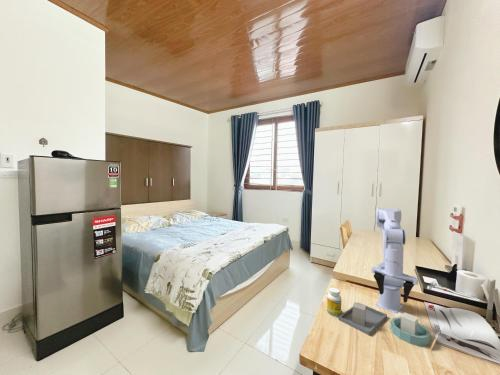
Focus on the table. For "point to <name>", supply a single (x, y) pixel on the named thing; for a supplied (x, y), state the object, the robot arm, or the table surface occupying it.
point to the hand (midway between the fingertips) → (393, 297)
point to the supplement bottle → (334, 302)
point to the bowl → (419, 340)
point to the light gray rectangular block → (359, 314)
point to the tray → (372, 320)
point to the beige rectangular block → (409, 324)
